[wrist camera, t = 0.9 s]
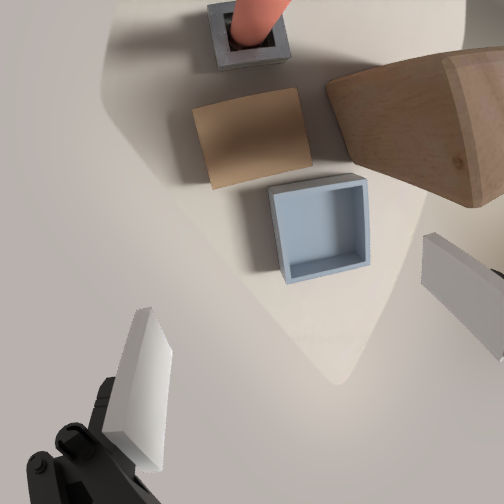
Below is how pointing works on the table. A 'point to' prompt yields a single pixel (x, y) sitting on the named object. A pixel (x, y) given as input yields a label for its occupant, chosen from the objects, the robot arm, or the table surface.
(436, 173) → the wooden block
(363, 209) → the tray
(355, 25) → the table surface
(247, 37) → the dowel
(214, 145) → the cardboard box
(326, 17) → the table surface
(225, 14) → the socket
